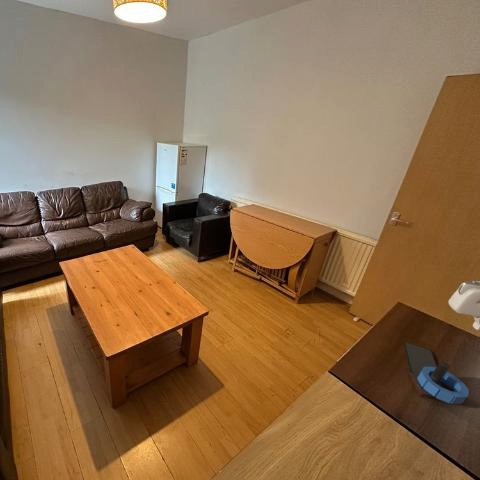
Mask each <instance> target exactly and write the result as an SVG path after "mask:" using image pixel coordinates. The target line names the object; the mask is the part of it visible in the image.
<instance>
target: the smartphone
mask: <svg viewBox="0 0 480 480" xmlns="http://www.w3.org/2000/svg"><path fill="white" fill-rule="evenodd" d="M403 346H404V350H405V351H404V352H405V356H406V360H407V365H408V368H409V372H411V373H416V374H420V373H421V371H422V369H423V368H424V367H437V366H438V364H437V362H436V360H435V356H434V354H433V351H432V350H430V349H429V348H425V347H423V346H419V345H416V344H413V343H410V342H404V343H403ZM440 382H441V383H442V384H443V383H444V382H442V381H440Z"/></svg>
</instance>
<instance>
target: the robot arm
mask: <svg viewBox="0 0 480 480" xmlns="http://www.w3.org/2000/svg"><path fill="white" fill-rule="evenodd" d="M448 305H449V307H450V309H452V310H453V311H454V312H455V313H457V314H460V315H466V316H470V317H471V316H472V317H473V319H474V322H473V324H472V327H473V328H474V329H475V330H476V331H480V280H478V279H472V280H470V281H465V282H462V283H461V284H460V286H459V287H458V288H457V289H456V291H455V292H454V293H453V294H452V296H451V297H450V298H449V299H448Z"/></svg>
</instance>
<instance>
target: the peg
mask: <svg viewBox="0 0 480 480" xmlns="http://www.w3.org/2000/svg"><path fill="white" fill-rule="evenodd" d="M450 369H451V365H450V364H449V363H448V362H445V361H442V360H441V361H440V362H439V363H438V364H437V367H436V369H435V370H434V372H433V373H432V375H431V376H430V378H431V379H432V381H433V382H435V383H436V384H437V385H439V386H440V387H442V388H444V389H446V388H445V386H444V384H443V383H441V382H440V381H441V380H442V378H443V377H444V375H445V374H446V373H447V372H448V371H449V370H450ZM418 376H419V374H416V373H411V372H410V371H409V372H408V374H407V377H408V378H409V380H410V382H411V383H412V386H413V387H414V389H415V390H416V392H417V394H418V396H419V397H421V398H425V399H429V400H433V401H436V402H441V403H444V404H448V405H452V404H451V403H447V402H445V401H442V400H440V399H438V398H436V396H433V395H431V394H430V393H429V392H428V391H426V390H425V389H424V387H422V386H421V384H420V383H419V381H418V378H417V377H418Z"/></svg>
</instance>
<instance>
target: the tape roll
mask: <svg viewBox="0 0 480 480" xmlns="http://www.w3.org/2000/svg"><path fill="white" fill-rule="evenodd" d="M435 369H436V367H424V368H423V369H422V371H421V373H420V374H419V376H418V377H417V378H418V381H419V383H420V384H421V386H422V387H424V389H425V390H426V391H428V392H429V393H430V394H431V395H433V396H436V398H438V399H440V400H442V401H445V402H447V403H446V404H448V403H451V404H450V405H461V404H463V403H464V402H465V401H466V399H467V398H468V397H469V393H470V389H469V388H468V387H467V386H466V384H465V383H464V382H463V381H462V380H461V379H459V378H458V377H457V376H455V375H453V374H452V373H450V372H448V371H447V373H446V374H445V375H444V377H443V378H442V380H441V381H442V382H443V383H444V384H445V385H447V386H448V387H449V388H451V390H452V391H451V390H450V389H447V388H445V389H444V388H442V387H440V386H439V385H437V384H436V383H435V382H433V381H432V379H431V378H430V376H431V375H432V373H433V372H434V370H435Z"/></svg>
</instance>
